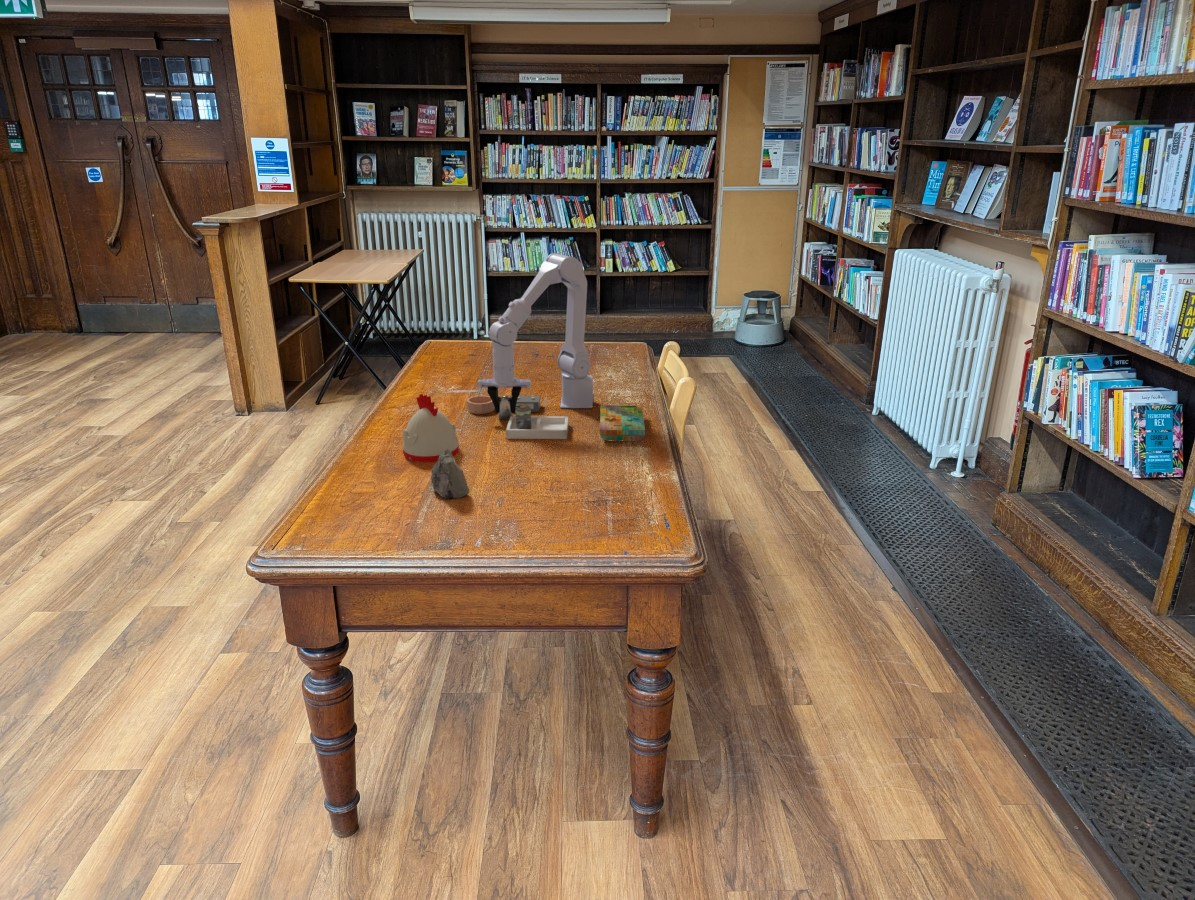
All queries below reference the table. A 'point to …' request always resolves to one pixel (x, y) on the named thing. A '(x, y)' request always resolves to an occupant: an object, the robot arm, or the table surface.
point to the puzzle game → (622, 422)
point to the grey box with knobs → (529, 402)
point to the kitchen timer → (428, 433)
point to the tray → (539, 428)
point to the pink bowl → (480, 404)
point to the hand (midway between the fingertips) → (505, 412)
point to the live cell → (523, 417)
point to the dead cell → (505, 407)
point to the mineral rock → (448, 477)
